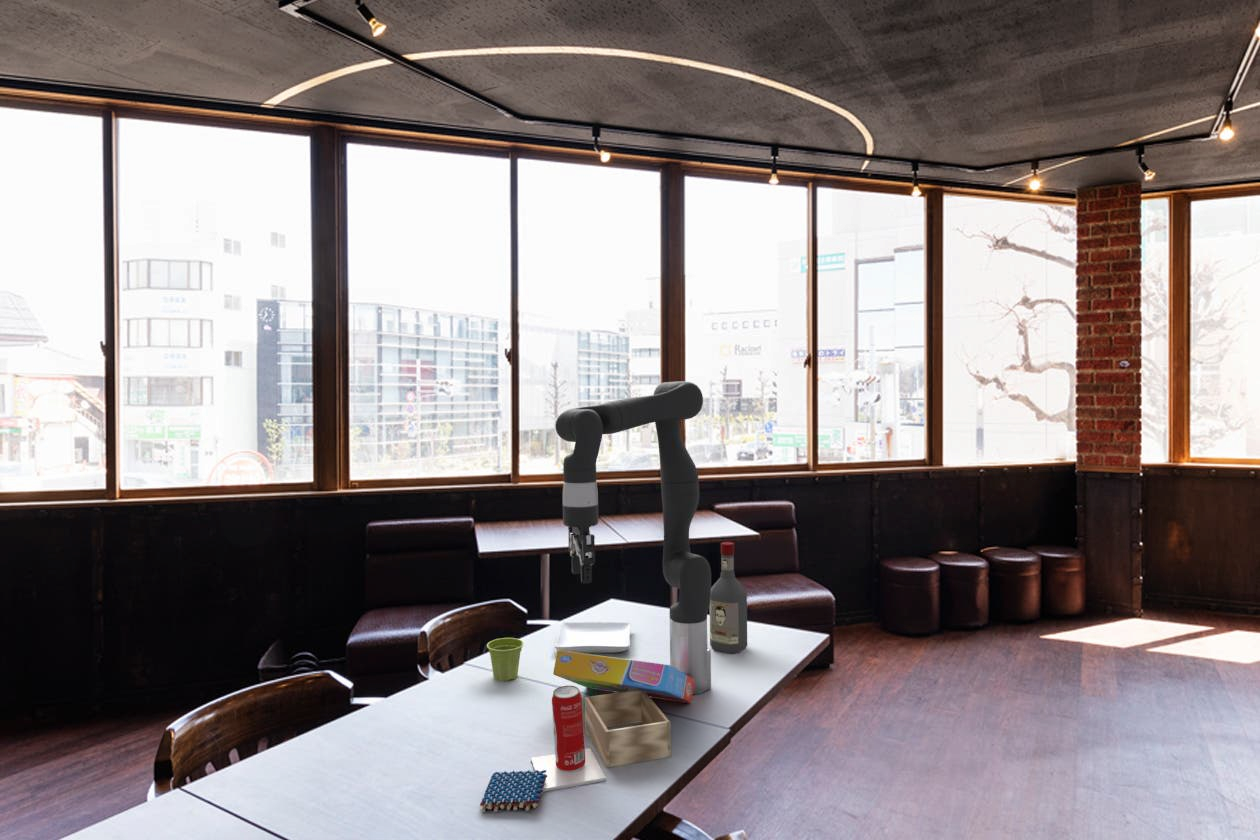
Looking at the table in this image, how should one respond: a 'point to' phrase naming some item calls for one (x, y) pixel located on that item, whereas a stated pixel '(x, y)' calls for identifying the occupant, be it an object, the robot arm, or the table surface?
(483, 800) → the woven mat
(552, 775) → the coaster
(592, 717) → the crate
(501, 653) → the plant pot
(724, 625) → the liquor
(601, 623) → the salad plate
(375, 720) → the table surface
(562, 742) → the beverage can
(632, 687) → the game box
